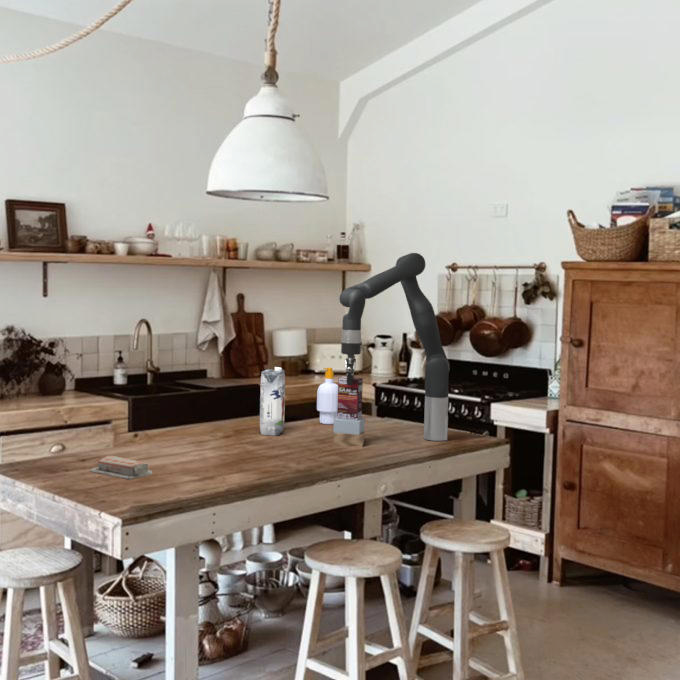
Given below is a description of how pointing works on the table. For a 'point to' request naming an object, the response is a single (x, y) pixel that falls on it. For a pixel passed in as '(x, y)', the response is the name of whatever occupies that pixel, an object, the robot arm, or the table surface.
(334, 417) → the soap bottle
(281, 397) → the juice carton
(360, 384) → the supplement box
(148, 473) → the packaged product
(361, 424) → the pale gray block
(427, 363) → the robot arm
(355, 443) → the walnut block
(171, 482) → the table surface
